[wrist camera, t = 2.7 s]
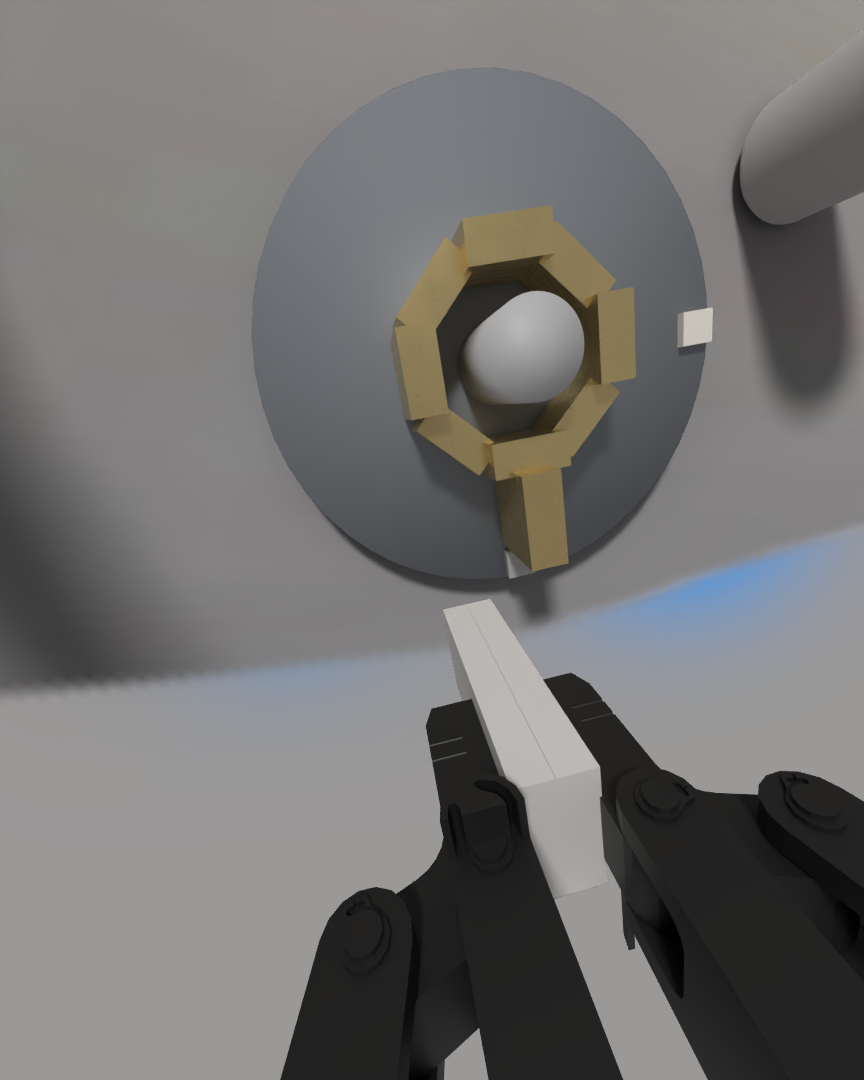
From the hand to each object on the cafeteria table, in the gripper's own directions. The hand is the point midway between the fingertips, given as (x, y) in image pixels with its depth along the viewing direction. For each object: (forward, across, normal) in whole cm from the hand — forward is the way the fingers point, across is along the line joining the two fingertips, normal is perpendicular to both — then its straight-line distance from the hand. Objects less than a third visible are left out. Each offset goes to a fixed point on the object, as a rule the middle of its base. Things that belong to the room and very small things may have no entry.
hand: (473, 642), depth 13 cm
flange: (+15, +6, +9) cm, 19 cm away
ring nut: (+13, +6, +6) cm, 16 cm away
